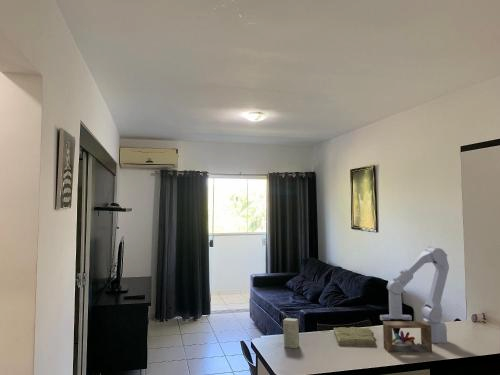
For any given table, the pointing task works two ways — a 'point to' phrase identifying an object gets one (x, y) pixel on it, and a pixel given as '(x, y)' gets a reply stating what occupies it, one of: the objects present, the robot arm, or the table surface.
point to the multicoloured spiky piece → (403, 339)
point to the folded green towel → (354, 336)
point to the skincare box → (291, 332)
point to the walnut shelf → (407, 348)
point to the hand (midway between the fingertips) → (396, 335)
